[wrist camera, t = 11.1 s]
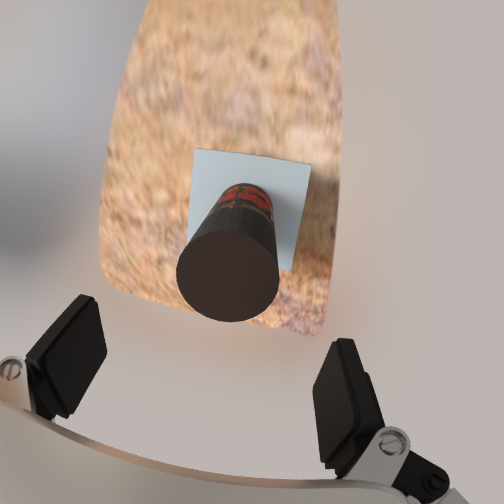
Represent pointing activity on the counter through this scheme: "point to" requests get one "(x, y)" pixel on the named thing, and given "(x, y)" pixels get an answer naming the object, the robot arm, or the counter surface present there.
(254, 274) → the deodorant
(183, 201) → the counter surface
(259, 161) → the pale blue square tabletop
